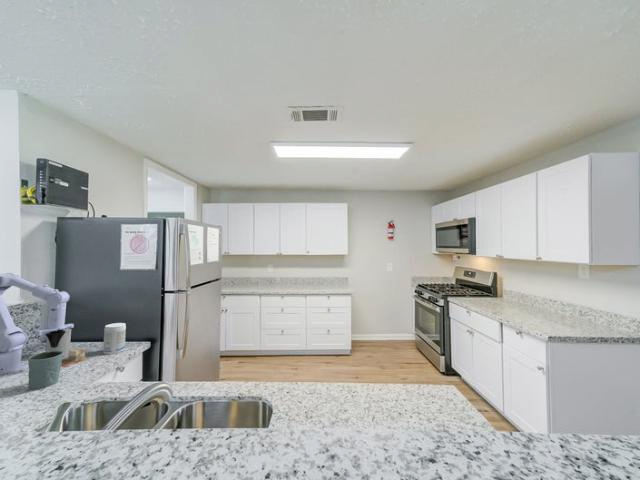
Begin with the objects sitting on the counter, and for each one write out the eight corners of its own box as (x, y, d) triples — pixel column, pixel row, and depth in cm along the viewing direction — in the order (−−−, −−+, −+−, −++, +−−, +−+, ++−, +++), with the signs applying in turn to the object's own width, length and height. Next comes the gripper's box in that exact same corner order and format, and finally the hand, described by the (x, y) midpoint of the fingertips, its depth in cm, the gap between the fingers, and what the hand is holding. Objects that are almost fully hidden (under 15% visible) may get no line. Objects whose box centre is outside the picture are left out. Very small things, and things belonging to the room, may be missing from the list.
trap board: (65, 367, 128) (65, 366, 128) (46, 365, 129) (46, 364, 130) (90, 358, 139) (90, 357, 140) (73, 356, 141) (73, 355, 141)
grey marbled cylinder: (57, 358, 139) (59, 333, 139) (39, 357, 139) (41, 332, 140) (74, 351, 148) (76, 328, 149) (57, 351, 148) (59, 328, 149)
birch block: (75, 360, 135) (76, 351, 136) (68, 359, 136) (68, 350, 136) (84, 357, 140) (85, 348, 140) (77, 356, 140) (78, 347, 141)
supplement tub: (123, 347, 156) (125, 321, 157) (125, 352, 149) (127, 325, 150) (102, 351, 150) (104, 324, 151) (102, 356, 143) (104, 327, 144)
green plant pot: (58, 377, 118) (61, 348, 119) (62, 384, 112) (65, 354, 112) (24, 385, 110) (27, 354, 111) (26, 393, 104) (29, 361, 104)
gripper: (46, 321, 121) (43, 353, 120) (79, 315, 135) (77, 343, 134) (33, 320, 122) (30, 351, 121) (67, 314, 136) (65, 342, 135)
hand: (54, 347), depth 128 cm, fingers closed
